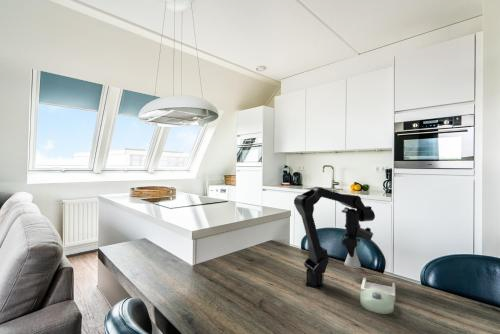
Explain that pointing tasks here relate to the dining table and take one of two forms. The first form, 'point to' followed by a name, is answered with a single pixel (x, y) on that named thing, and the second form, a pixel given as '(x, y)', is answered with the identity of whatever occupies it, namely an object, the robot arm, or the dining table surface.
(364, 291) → the white tub with tabs
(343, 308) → the dining table surface
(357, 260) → the flask
